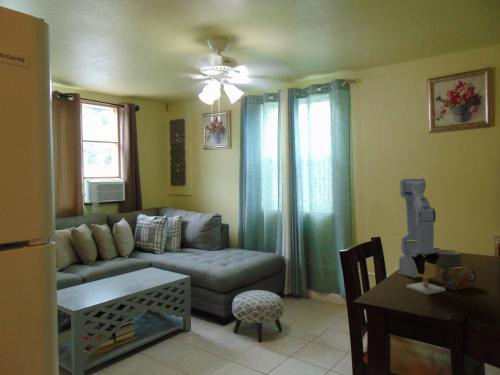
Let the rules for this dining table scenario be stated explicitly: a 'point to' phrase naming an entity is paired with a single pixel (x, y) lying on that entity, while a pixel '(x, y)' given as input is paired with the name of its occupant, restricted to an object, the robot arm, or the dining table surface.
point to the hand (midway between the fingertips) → (425, 272)
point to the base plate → (425, 287)
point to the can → (449, 259)
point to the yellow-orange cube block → (428, 271)
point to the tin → (458, 277)
